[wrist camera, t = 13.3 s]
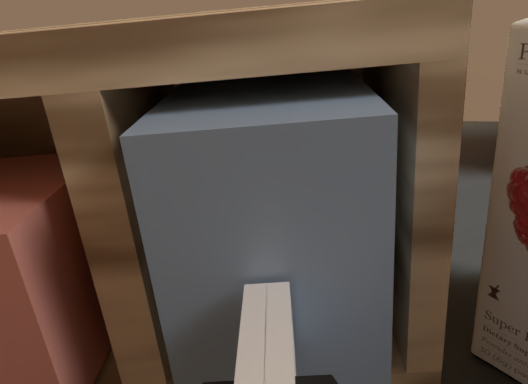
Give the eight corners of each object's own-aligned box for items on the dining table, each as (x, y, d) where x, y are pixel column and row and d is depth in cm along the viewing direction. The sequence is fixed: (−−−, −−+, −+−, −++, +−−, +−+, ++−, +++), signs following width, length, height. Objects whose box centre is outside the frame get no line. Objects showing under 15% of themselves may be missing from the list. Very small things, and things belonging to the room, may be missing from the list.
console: (440, 388, 20) (473, -11, 14) (-122, 414, 21) (-324, 66, 15) (381, 249, 31) (385, -6, 25) (14, 272, 32) (-70, 38, 26)
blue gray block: (390, 416, 17) (397, 114, 13) (183, 425, 18) (119, 136, 13) (353, 281, 25) (350, 69, 21) (212, 289, 26) (180, 83, 21)
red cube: (74, 424, 18) (7, 233, 15) (-115, 432, 19) (-221, 249, 15) (137, 291, 26) (103, 149, 23) (6, 299, 27) (-46, 161, 24)
